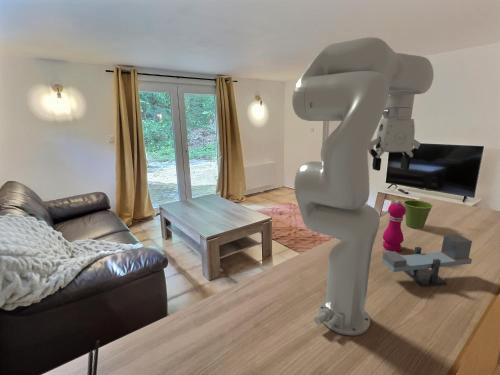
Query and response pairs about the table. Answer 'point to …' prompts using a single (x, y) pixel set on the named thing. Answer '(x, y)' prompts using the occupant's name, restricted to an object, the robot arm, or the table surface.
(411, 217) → the plant pot
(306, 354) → the table surface
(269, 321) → the table surface
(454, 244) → the iron block
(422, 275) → the stand
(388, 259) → the beam
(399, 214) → the pepper mill
